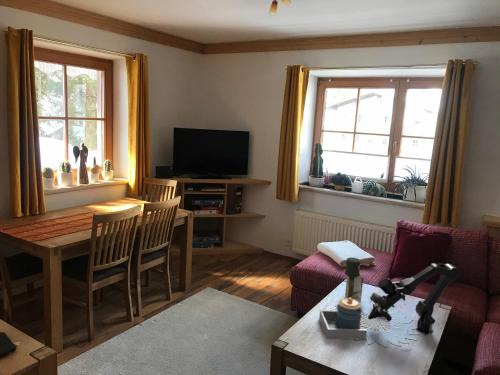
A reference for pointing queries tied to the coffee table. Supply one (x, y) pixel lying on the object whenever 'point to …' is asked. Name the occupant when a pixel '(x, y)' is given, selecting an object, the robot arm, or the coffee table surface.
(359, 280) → the coffee box
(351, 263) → the stick grenade
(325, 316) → the corral
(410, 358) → the coffee table surface
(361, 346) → the coffee table surface
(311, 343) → the coffee table surface
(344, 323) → the canister
